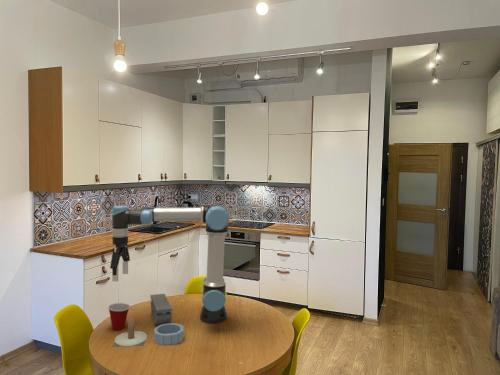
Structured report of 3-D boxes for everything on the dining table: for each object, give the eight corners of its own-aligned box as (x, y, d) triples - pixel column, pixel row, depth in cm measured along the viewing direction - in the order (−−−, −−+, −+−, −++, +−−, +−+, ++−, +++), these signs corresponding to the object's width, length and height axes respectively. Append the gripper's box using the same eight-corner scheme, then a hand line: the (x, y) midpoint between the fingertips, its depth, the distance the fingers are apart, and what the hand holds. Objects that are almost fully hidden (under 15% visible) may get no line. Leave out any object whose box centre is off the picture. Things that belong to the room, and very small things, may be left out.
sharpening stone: (171, 328, 193) (172, 308, 192) (156, 331, 190) (156, 310, 189) (164, 311, 216) (164, 293, 215) (150, 313, 213) (150, 295, 212)
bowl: (184, 332, 188) (184, 322, 188) (182, 345, 174) (182, 334, 174) (156, 333, 187) (156, 323, 187) (152, 346, 173) (152, 335, 173)
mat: (148, 333, 186) (148, 332, 186) (143, 346, 172) (143, 345, 172) (119, 334, 185) (119, 333, 185) (112, 347, 171) (112, 346, 171)
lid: (149, 332, 187) (149, 313, 186) (144, 346, 172) (144, 325, 172) (118, 333, 185) (119, 313, 185) (111, 347, 170) (111, 326, 170)
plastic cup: (128, 332, 187) (128, 309, 187) (105, 333, 185) (105, 310, 185) (131, 323, 198) (131, 301, 197) (110, 324, 196) (110, 302, 196)
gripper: (122, 232, 200) (122, 270, 201) (102, 240, 175) (102, 284, 176) (135, 232, 200) (135, 271, 201) (118, 240, 175) (118, 284, 176)
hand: (120, 277), depth 189 cm, fingers open, 13 cm apart
